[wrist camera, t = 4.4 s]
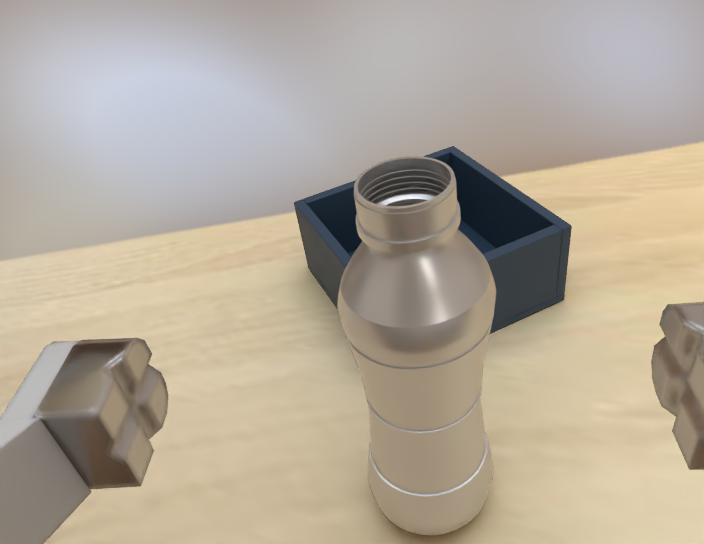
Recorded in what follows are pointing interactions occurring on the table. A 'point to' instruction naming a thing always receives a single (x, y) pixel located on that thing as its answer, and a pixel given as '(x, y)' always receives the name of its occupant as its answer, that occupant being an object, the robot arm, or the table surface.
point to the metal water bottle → (420, 344)
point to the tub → (476, 224)
